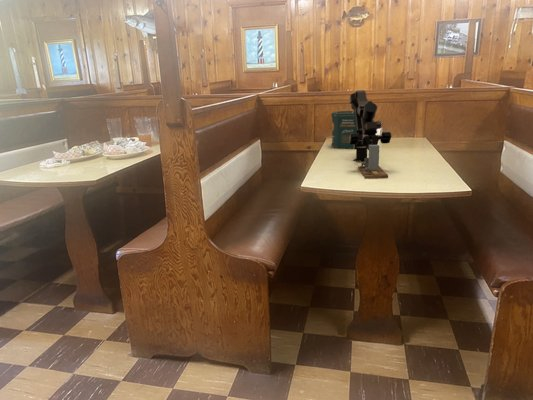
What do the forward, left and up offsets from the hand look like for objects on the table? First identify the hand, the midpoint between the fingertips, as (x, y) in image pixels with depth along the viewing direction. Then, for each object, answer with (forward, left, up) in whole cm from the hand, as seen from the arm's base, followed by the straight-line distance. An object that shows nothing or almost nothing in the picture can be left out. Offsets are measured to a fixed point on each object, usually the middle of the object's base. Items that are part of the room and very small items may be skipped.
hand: (372, 153), depth 198 cm
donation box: (-55, -42, -9) cm, 70 cm away
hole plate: (+2, +1, -9) cm, 9 cm away
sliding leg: (+4, +2, -7) cm, 8 cm away
